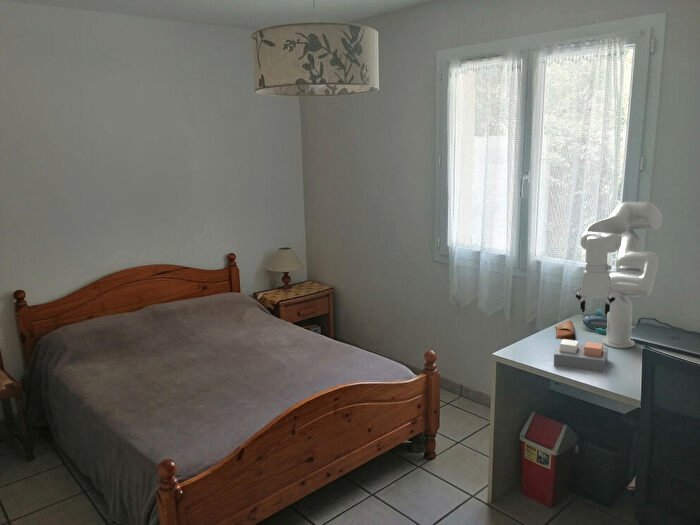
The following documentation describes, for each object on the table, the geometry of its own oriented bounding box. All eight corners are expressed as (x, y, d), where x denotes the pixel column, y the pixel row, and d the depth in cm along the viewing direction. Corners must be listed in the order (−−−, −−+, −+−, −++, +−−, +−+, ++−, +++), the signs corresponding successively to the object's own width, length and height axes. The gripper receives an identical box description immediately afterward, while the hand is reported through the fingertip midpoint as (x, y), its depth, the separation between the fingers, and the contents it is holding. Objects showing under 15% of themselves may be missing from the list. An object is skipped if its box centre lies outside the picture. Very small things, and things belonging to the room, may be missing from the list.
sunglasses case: (553, 325, 260) (561, 314, 258) (567, 333, 259) (575, 322, 256) (555, 338, 243) (563, 327, 241) (569, 347, 242) (578, 335, 240)
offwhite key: (562, 347, 221) (562, 339, 221) (578, 349, 218) (578, 340, 218) (559, 352, 216) (560, 343, 216) (575, 354, 213) (576, 345, 213)
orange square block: (586, 350, 217) (586, 341, 216) (602, 352, 214) (602, 343, 213) (584, 355, 212) (584, 346, 211) (600, 357, 209) (601, 349, 208)
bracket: (596, 322, 262) (596, 306, 260) (611, 323, 259) (612, 307, 257) (595, 334, 246) (595, 318, 245) (611, 335, 243) (612, 319, 242)
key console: (560, 353, 226) (560, 342, 225) (607, 359, 217) (608, 348, 216) (553, 365, 215) (554, 353, 214) (603, 372, 205) (603, 360, 204)
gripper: (622, 267, 204) (620, 311, 208) (573, 264, 213) (572, 307, 217) (620, 271, 198) (618, 317, 201) (570, 268, 207) (569, 312, 210)
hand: (594, 311), depth 209 cm, fingers open, 7 cm apart
